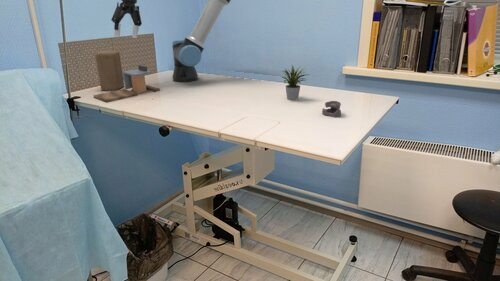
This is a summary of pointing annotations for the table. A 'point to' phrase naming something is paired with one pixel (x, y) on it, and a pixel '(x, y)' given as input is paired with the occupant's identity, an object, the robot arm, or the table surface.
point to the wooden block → (109, 70)
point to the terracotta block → (138, 83)
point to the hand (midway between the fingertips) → (126, 37)
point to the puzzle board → (121, 94)
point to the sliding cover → (137, 72)
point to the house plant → (293, 83)
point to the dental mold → (332, 109)
